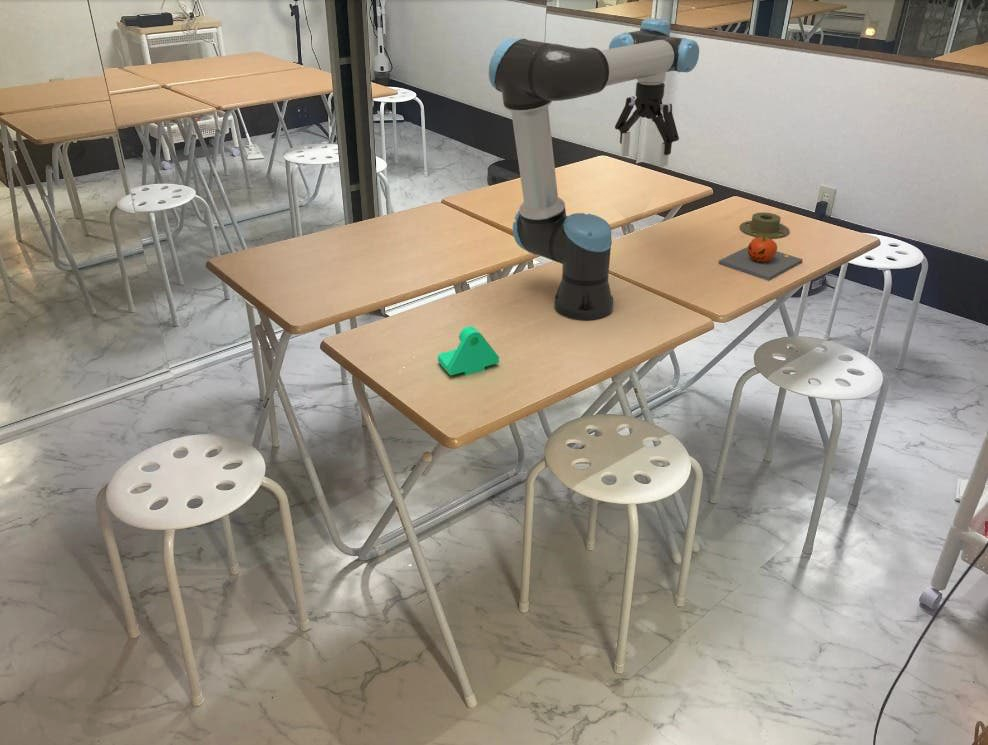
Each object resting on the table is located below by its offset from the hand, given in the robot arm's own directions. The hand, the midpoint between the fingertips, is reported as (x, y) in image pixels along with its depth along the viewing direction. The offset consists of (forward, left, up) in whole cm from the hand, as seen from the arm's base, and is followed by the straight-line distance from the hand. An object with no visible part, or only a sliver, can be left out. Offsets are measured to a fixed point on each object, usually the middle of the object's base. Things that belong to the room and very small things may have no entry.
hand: (643, 160), depth 224 cm
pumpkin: (+18, -31, -26) cm, 44 cm away
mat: (+18, -31, -27) cm, 45 cm away
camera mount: (-81, -16, -27) cm, 87 cm away
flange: (+42, -18, -27) cm, 53 cm away
